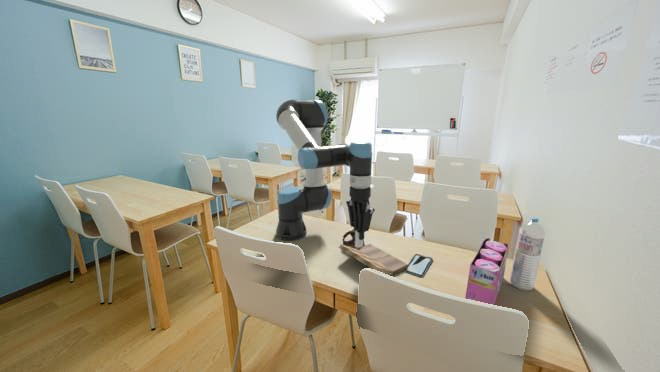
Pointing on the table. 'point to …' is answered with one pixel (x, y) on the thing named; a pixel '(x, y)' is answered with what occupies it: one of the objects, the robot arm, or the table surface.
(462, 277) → the table surface
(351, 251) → the plank
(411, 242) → the table surface
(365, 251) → the floor boards
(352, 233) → the pottery mug
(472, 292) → the gum box
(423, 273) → the smartphone
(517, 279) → the water bottle
